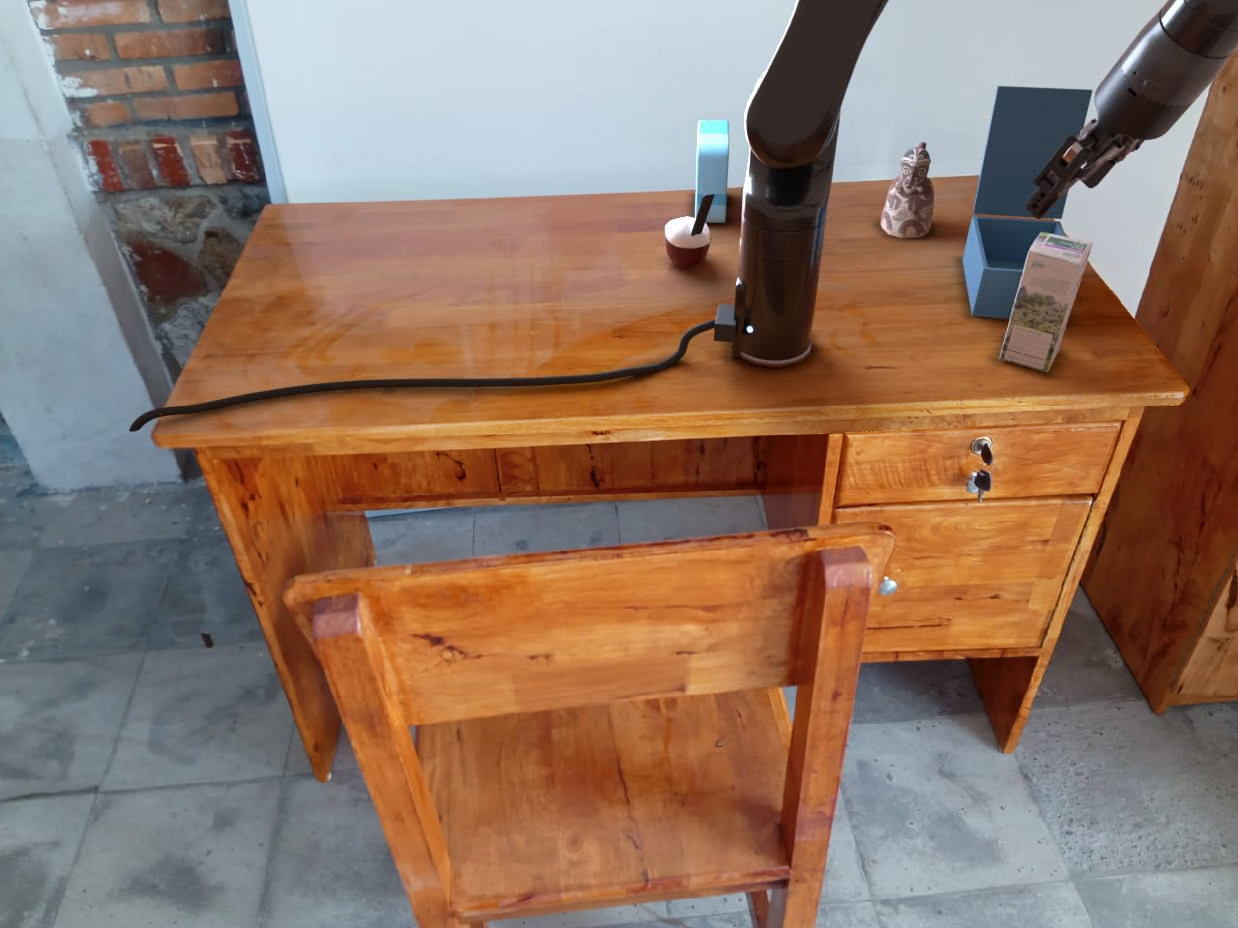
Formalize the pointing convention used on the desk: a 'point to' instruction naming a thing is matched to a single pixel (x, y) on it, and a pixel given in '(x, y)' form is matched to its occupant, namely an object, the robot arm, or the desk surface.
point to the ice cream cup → (689, 237)
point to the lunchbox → (999, 260)
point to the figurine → (910, 197)
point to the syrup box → (1044, 300)
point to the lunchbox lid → (1026, 145)
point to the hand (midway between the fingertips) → (1059, 197)
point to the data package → (712, 167)
